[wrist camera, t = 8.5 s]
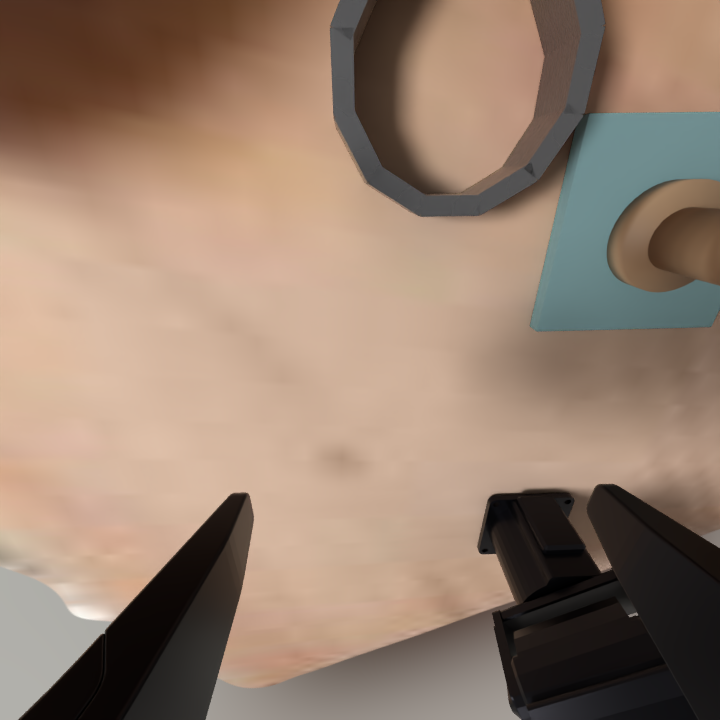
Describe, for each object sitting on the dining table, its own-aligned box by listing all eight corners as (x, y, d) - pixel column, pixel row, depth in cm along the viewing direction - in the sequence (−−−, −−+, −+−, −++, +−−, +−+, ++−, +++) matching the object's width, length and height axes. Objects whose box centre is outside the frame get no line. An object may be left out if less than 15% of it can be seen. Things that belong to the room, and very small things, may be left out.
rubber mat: (698, 322, 20) (710, 327, 19) (529, 326, 20) (536, 331, 19) (796, 114, 15) (817, 110, 15) (578, 116, 15) (589, 113, 15)
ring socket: (532, 210, 17) (560, 214, 15) (338, 213, 17) (337, 218, 14) (590, -76, 13) (642, -132, 10) (327, -77, 12) (323, -134, 10)
